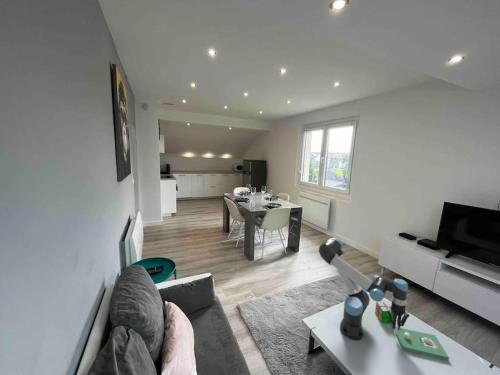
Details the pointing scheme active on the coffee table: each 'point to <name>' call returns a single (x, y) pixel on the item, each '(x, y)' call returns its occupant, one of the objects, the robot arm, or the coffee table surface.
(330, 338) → the coffee table surface
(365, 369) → the coffee table surface
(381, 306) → the puzzle cube
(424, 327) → the coffee table surface
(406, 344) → the mat
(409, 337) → the ball
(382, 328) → the coffee table surface
